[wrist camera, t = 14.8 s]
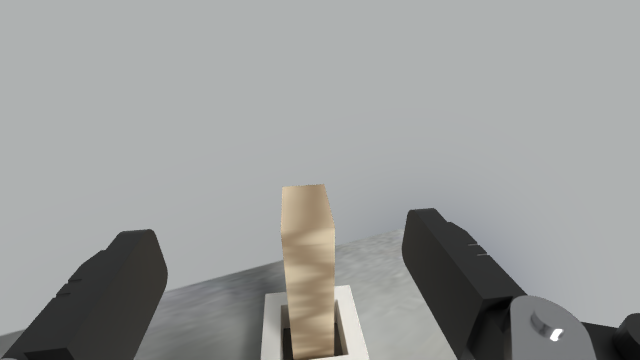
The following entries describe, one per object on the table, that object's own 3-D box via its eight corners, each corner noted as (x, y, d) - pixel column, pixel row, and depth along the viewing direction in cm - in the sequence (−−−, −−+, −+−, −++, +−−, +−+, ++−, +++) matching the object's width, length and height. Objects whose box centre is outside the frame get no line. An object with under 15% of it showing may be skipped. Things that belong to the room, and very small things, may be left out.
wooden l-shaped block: (294, 374, 28) (280, 230, 20) (293, 314, 35) (282, 186, 27) (333, 369, 29) (334, 226, 21) (325, 311, 35) (324, 184, 27)
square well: (263, 412, 26) (258, 387, 24) (268, 316, 34) (265, 293, 33) (370, 397, 27) (372, 372, 25) (348, 308, 35) (349, 285, 34)
